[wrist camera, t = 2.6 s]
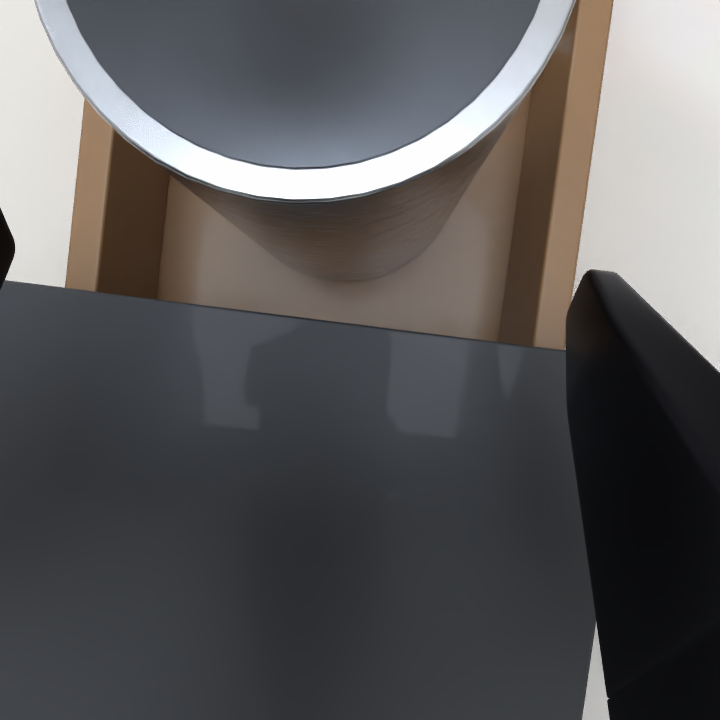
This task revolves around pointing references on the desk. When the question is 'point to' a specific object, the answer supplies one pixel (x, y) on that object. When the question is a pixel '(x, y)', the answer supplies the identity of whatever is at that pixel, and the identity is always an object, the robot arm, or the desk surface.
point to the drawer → (403, 286)
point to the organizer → (281, 518)
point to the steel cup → (313, 109)
